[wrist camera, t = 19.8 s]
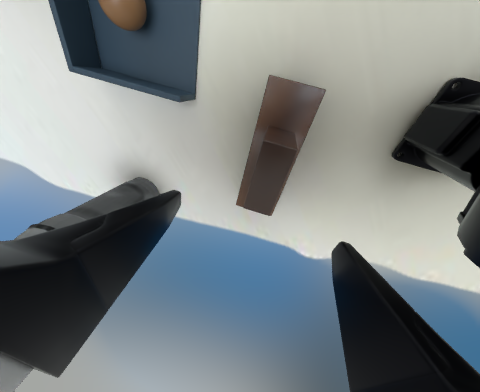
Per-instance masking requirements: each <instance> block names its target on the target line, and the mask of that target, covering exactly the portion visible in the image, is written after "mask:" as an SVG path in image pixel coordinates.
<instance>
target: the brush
mask: <svg viewBox="0 0 480 392" xmlns="http://www.w3.org/2000/svg"><path fill="white" fill-rule="evenodd" d="M325 91H326V90H325V89H321V88H317V87H314V86H310V85H306V84H302V83H299V82H295V81H291V80H287V79H283V78H280V77H276V76H272V75H269V78H268V82H267V86H266V90H265V94H264V98H263V102H262V106H261V109H260V113H259V117H258V121H257V125H256V129H255V133H254V137H253V140H252V144H251V148H250V152H249V156H248V160H247V164H246V168H245V172H244V175H243V179H242V183H241V187H240V191H239V195H238V199H237V203H236V205H238V206H241V207H243V208H245V209H249V210H252V211H255V212H258V213H262V214H265V215H268V216H272V213H273V211H274V209H275V206H276V204H277V202H278V200H279V197H280V195H281V193H282V190H283V188H284V186H285V183H286V181H287V179H288V177H289V174H290V172H291V170H292V167H293V165H294V163H295V160H296V158H297V156H298V154H299V151H300V149H301V147H302V144H303V142H304V140H305V137H306V135H307V133H308V130H309V128H310V126H311V124H312V121H313V119H314V117H315V114H316V112H317V110H318V107H319V105H320V103H321V101H322V98H323V96H324V94H325Z"/></svg>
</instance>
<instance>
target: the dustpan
mask: <svg viewBox="0 0 480 392" xmlns="http://www.w3.org/2000/svg"><path fill="white" fill-rule="evenodd" d="M48 1H49V4H50V7H51V11H52V14H53V18H54V21H55V24H56V28H57V31H58V34H59V38H60V41H61V45H62V48H63V51H64V55H65V58H66V61H67V65H68V68H69V71H71V72H74V73H78V74H81V75H85V76H88V77H92V78H95V79H99V80H103V81H106V82H110V83H113V84H117V85H120V86H124V87H127V88H131V89H134V90H138V91H141V92H145V93H148V94H152V95H156V96H159V97H163V98H166V99H170V100H173V101H177V102H183V101H188V100H193V99H195V93H196V75H197V57H198V39H199V22H200V4H201V0H145V3H146V9H147V16H146V21H145V23H144V25H143V26H142V27H141V28H140V29H139V30H136V31H127V30H124V29H122V28H120V27H118V26H117V25H115V24H114V23H113V22H112V21H111V20H110V19H109V18H108V17H107V15H106V14H105V13H104V11H103V10H102V8H101V6H100V4H99V1H98V0H48ZM88 3H89V5H88ZM89 8H90V10H89ZM90 12H91V15H90ZM91 17H92V20H91ZM92 22H93V25H92ZM93 27H94V29H93ZM94 32H95V34H94ZM95 37H96V39H95ZM96 42H97V44H96ZM97 47H98V49H97ZM98 51H99V54H98ZM99 56H100V59H99ZM100 61H101V63H100ZM101 66H102V68H101Z"/></svg>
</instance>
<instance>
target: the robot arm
mask: <svg viewBox="0 0 480 392" xmlns="http://www.w3.org/2000/svg"><path fill="white" fill-rule="evenodd" d="M455 83H457V86H456V87H455V88H454V89H452V86H453V85H454V84H455ZM399 153H402V154H401V155H400V156H397V155H398V154H399ZM392 157H393V158H394V159H395V160H398V161H401V162H405V163H408V164H412V165H415V166H419V167H422V168H426V169H430V170H433V171H437V172H440V173H444V174H445V175H447V176H449V177H450V178H452V179H454V180H456V181H457V182H459V183H461V184H463V185H464V186H466V187H468V188H470V189H471V190H473V191H475V193H474V195H473V196H472V198H471V200H470V201H469V203H468V205H467V206H466V208H465V210H464V211H463V212H460V214H459V215H458V217H457V220H458V222H459V224H460V226H459V229H458V234H457V236H458V237H459V239H460V241H461V243H462V245H463V247H464V248H465V250H464V252H463V253H464V255H465V256H467V257H468V258H469V259H470V260H471V261H472V262H473V263H474V264H475V265H477V266H478V267H479V268H480V82H477V81H473V80H469V79H465V78H454V79H451V80H450V81H448V82H447V83H446V84H445V86H444V87H443V88H442V89H441V91H440V92H439V93H438V95H437V96H436V97H435V99H434V100H433V101H432V102H431V104H430V105H429V106H427V107H426V108H425V110H424V111H423V112H422V114H421V115H420V116H419V117H418V119H417V120H416V121H415V123H414V124H413V125H412V127H411V128H410V129H409V131H408V132H407V133H406V134H405V137H404V139H403V140H402V141H401V143H400V144H399V145H398V146H397V148H396V149H395V150H394V152H393V153H392ZM180 205H181V193H180V192H179V191H175V190H172V191H169V192H166V193H163V194H160V195H157V196H155V197H152V198H149V199H146V200H143V201H140V202H137V203H134V204H131V205H129V206H126V207H123V208H120V209H117V210H114V211H111V212H108V213H107V214H103V215H100V216H97V217H94V218H91V219H88V220H85V221H81V222H78V223H75V224H71V225H68V226H64V227H61V228H57V229H54V230H50V231H47V232H43V233H40V234H36V235H33V236H29V237H25V238H21V239H16V240H10V241H0V392H14V391H15V389H16V388H17V387H18V386H19V385H20V384H21V382H22V381H23V380H24V379H25V378H26V377H27V375H28V374H29V373H30V372H31V371H32V370H33V369H36V370H38V371H41V372H44V373H46V374H49V375H52V376H55V377H57V378H58V377H59V376H60V375H61V374H62V373H63V371H64V370H65V368H66V367H67V366H68V365H69V363H70V362H71V360H72V359H73V358H74V356H75V355H76V354H77V352H78V351H79V350H80V348H81V347H82V345H83V344H84V343H85V341H86V340H87V339H88V337H89V336H90V335H91V333H92V332H93V330H94V329H95V328H96V326H97V325H98V324H99V322H100V321H101V319H102V318H103V317H104V315H105V314H106V312H107V311H108V309H109V308H110V307H111V306H112V304H113V303H114V302H115V300H116V299H117V297H118V296H119V295H120V293H121V292H122V291H123V289H124V288H125V287H126V285H127V284H128V282H129V281H130V280H131V278H132V277H133V276H134V274H135V273H136V271H137V270H138V269H139V267H140V266H141V265H142V263H143V262H144V261H145V259H146V258H147V256H148V255H149V254H150V252H151V251H152V250H153V248H154V247H155V246H156V244H157V243H158V241H159V240H160V239H161V237H162V236H163V234H164V233H165V232H166V230H167V229H168V227H169V226H170V224H171V222H172V220H173V218H174V217H175V215H176V213H177V211H178V210H179V208H180ZM332 275H333V286H334V292H335V299H336V305H337V311H338V318H339V324H340V330H341V337H342V342H343V350H344V356H345V362H346V369H347V375H348V381H349V388H350V392H480V374H479V373H478V372H477V371H476V370H475V369H474V368H473V367H472V366H471V365H470V364H469V363H468V362H467V361H465V360H464V359H463V358H462V357H461V356H460V355H459V354H458V353H457V352H456V351H455V350H454V349H453V348H452V347H451V346H450V345H449V344H448V343H447V342H446V341H445V340H444V339H442V338H441V337H440V336H439V335H438V334H437V333H436V332H435V331H434V330H433V329H432V328H431V327H430V326H429V325H428V324H427V323H426V322H425V321H424V320H423V319H422V317H421V316H420V315H419V314H418V313H417V312H415V311H414V309H413V308H412V307H411V306H410V305H409V304H408V303H407V302H406V301H405V300H404V299H403V298H402V297H401V296H400V295H399V294H398V293H397V292H396V291H395V290H394V289H393V288H392V287H391V286H390V285H389V284H388V283H387V281H385V279H384V278H383V277H382V276H381V275H380V274H379V273H378V272H377V271H376V270H375V269H374V268H373V267H372V266H371V265H370V264H369V263H368V262H367V261H366V260H365V259H364V258H363V257H362V256H361V255H360V254H359V253H358V252H357V251H356V250H355V249H354V248H353V247H352V245H350V244H349V243H346V242H340V243H339V244H338V245H337V246H336V247H335V248H334V250H333V251H332Z"/></svg>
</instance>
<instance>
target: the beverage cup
mask: <svg viewBox="0 0 480 392" xmlns="http://www.w3.org/2000/svg"><path fill="white" fill-rule="evenodd" d="M157 195H159V192H158V190H157V188H156V186H155V185H154V184H153V183H152V182H150V181H149V180H147V179H145V178H140V177H138V178H135V179H133V180H131V181H128V182H125V183H123V184H121V185H119V186H117V187H115V188H113V189H112V190H110V191H108V192H106V193H104V194H102V195H100V196H98V197H96V198H94V199H92V200H90V201H88V202H86V203H84V204H82V205H80V206H78V207H76V208H74V209H72V210H70V211H68V212H66V213H64V214H59V215H57V216H54V217H52V218H49V219H47V220H44V221H42V222H40V223H39V224H33V225H31V226H30V227H29V228H28V229H27V230H26V231H25V232H23V233H21V235H19V236H18V237H16V238H15V239H14V240H16V239H21V238H25V237H29V236H33V235H36V234H40V233H43V232H47V231H50V230H54V229H57V228H61V227H64V226H68V225H71V224H75V223H78V222H81V221H85V220H88V219H91V218H94V217H97V216H100V215H103V214H107V213H108V212H111V211H114V210H117V209H120V208H123V207H126V206H129V205H131V204H134V203H137V202H140V201H143V200H146V199H149V198H152V197H155V196H157Z"/></svg>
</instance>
